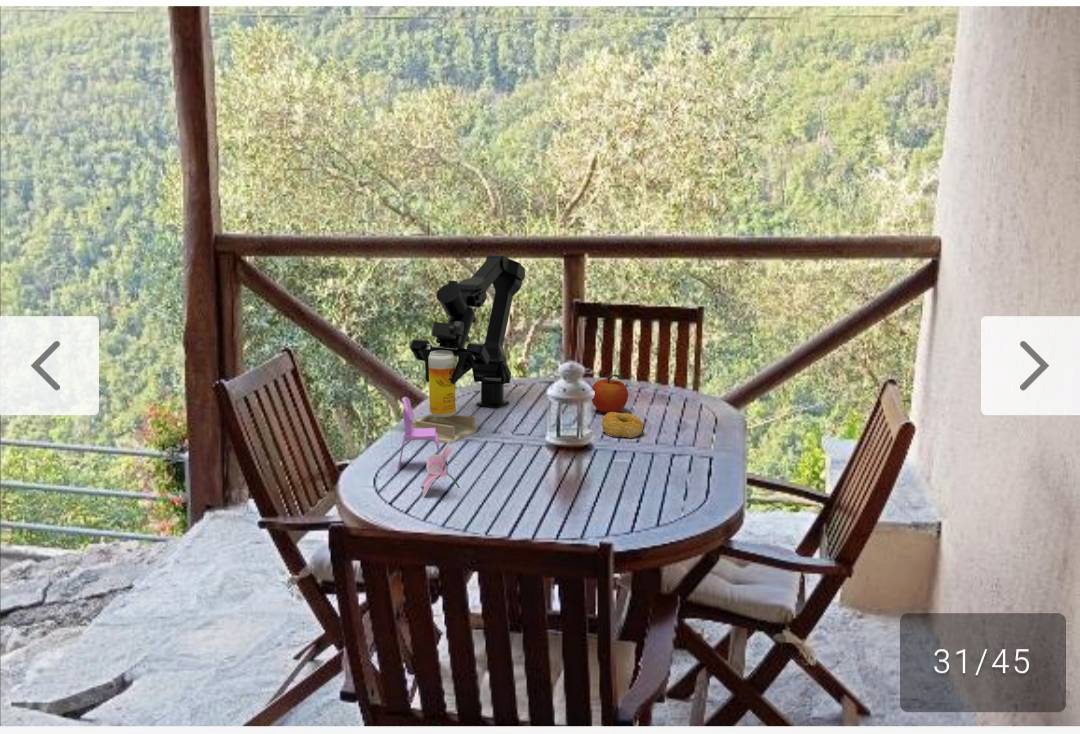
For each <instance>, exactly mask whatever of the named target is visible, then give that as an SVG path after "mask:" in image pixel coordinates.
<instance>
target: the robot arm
mask: <svg viewBox="0 0 1080 734" xmlns="http://www.w3.org/2000/svg"><path fill="white" fill-rule="evenodd" d="M525 277H526V268H525V267H524V266H523V265H522V264H521V263H520V262H517V261H515V260H513V259H511V258H509V257H508V256H507V255H504V254H489V255H487V256H486V258H485V261H484V262H483V263H482V265H481V266H480V267H479V268H478V269H477V270H476V272H475V273H474V274H473V275H472V276H471V277H469V278H466V279H461V280H460V281H459V282H458V280H449V281H448V283H447V284H444V285H443V286H441V287H440V288H439V289H438V290H437V291H436V299H437V301H438V302H439V304H440V306H441V307H442V310H443V311H444V313H445V315H447V316H448V319H447V322H444V321H443V322H440V321H439V322H438V321H434V322H433V323H432V330H431V336H432V337H435V338H436V339H435V341H436V343H437V344H438V345H432V344H431V342H430V341H429V340H428V339H420V338H419V339H418V338H416V339H415V338H414V339H413V340H412V341H411V343H410V345H409V349H410V351H411V352H412V353H413V355H414V358H415V359H416V360H418V361H423V362H424V366H425V368H424V370H425V372H424V373H425V381H426V382H427V383H429V362H428V357H429V355H430V352H432V351H437V350H448V351H452V352H453V355H454V357H457V361H456V364H455V370H454V373H453V375H452V379H451V383H452V384H455V385H456V383H457V382H458V381H459V380H460V379H461V378H462V377H463V376H464V375H465V374H467V373H468V372H469V371H472V374H473V375H472V376H473V381H474V382H478V383H479V382H480V387H481V388H480V401H478V402H476V403H475V404H476V406H482V407H488V408H489V407H490V408H500V407H502V406H504V405H506V404H509V403H510V402H509V400H505V395H504V394H505V392H504V391H505V389H504V387H505V386H504V385H505V384H510V383H511V378H512V372H511V369H510V368H509V366H508V364H507V356H506V353H505V351H504V342H505V337H506V332H507V328H508V322H509V317H510V312H511V307H512V302H513V297H514V296H515V295H516V294H517V293H518V291H520V290H521V287H522V285H523V281H524V279H525ZM491 285H492V286H493V289H494V291H495V292H494V296H493V301H492V305H491V310H490V311H491V312H490V315H489V321H488V325H487V330H486V331H487V332H486V335H485V340H484V343H474V342H473V343H472V342H470V336H469V334H470V331H471V327H472V324H474V323H477V317H476V316H475V315H476V313H475V312H474V310H473V308H482V306H483V305H484V303H485V302H486V300H487V298H488V295H487V291H488V289H489V288H490V287H491ZM467 342H468V343H467ZM466 343H467V345H466ZM465 346H466V348H465Z"/></svg>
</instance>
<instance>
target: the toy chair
mask: <svg viewBox="0 0 1080 734" xmlns="http://www.w3.org/2000/svg"><path fill="white" fill-rule="evenodd" d="M401 400H402V404H403V409H402V417H403V423H404V431H405V432H404V434H403V438H402V443H401V451H400V456H399V461H398V465H397V470H398V471H399V470H400V468H401V463H402V462H401V461H402V457H403V452H404V445H405V443H407V442H409V441H410V442H412V441H432V442H434V443H435V445H436V449H437V455H440V442H439V437H438V434H437V433H436V428H423V429H417V428H411V425H412V424H413V421H414V420H415V418H414V417H415V414H414V411H413V408H412V404H411V399H410V398H409V397H407V396H404V397H402V398H401Z"/></svg>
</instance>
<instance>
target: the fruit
mask: <svg viewBox="0 0 1080 734" xmlns="http://www.w3.org/2000/svg"><path fill="white" fill-rule="evenodd" d="M613 377H614V378H618V379H619V380H617V379H611V378H613ZM622 378H623V377H622V376H621V374H617V373H616V374H615V373H614V374H612V375H610V376H608V375H607V377H606V378H604V379H598V380H597V381H595V383H594V384H593V386H592V387H591V390H592V389H593V390H594V391H595V396H594V398H593V399H591V402H592V404H593V406H594V408H595V409H596V410H597V411H599V412H601V413H603V414H607V413H609V412H616V413H620V411H622V410H624V408H625V406H626V404H627V402H628V399H629V391H628V390H629V389H628V388H627V385H625V383H624V382H623V381H621V380H622Z"/></svg>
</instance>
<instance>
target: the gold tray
mask: <svg viewBox="0 0 1080 734" xmlns="http://www.w3.org/2000/svg"><path fill="white" fill-rule="evenodd" d="M411 428H417V429H423V428H436V433H437V434H438V437H439V443H445V444H447V443H448V442H449V441H450V442H449V444H452V443H454V442H457V441H458V440H461V439H464V438H465V437H467V436H469V435H472V434H474V433H476V432H478V428H476V416H475V417H473V416H467V415H461V414H456V413H454V414H453V415H452V416H449V417H435V416H433V415H432V413H430V414H428V415H425V416H423V417H419V418H417V419H414V420H413V424H412V425H411ZM456 440H457V441H456Z"/></svg>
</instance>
